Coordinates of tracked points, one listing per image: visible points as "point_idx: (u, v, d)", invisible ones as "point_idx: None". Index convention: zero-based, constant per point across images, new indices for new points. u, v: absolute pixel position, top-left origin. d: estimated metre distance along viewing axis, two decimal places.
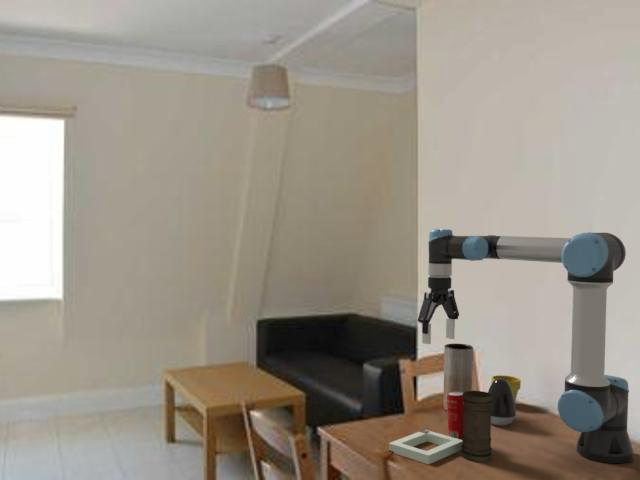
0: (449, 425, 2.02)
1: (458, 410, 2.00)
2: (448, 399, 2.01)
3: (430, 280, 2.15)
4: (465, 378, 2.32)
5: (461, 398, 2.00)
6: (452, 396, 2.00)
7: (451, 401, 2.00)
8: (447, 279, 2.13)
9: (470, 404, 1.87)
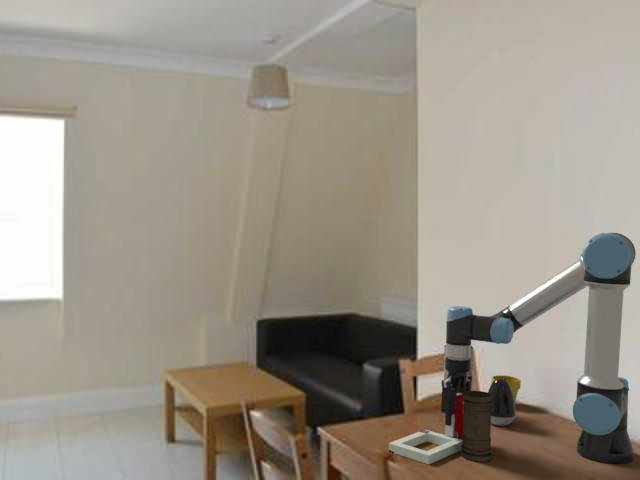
0: None
1: (458, 409, 2.00)
2: None
3: (447, 362, 2.00)
4: None
5: (460, 398, 2.00)
6: None
7: None
8: (466, 362, 1.98)
9: (470, 404, 1.87)
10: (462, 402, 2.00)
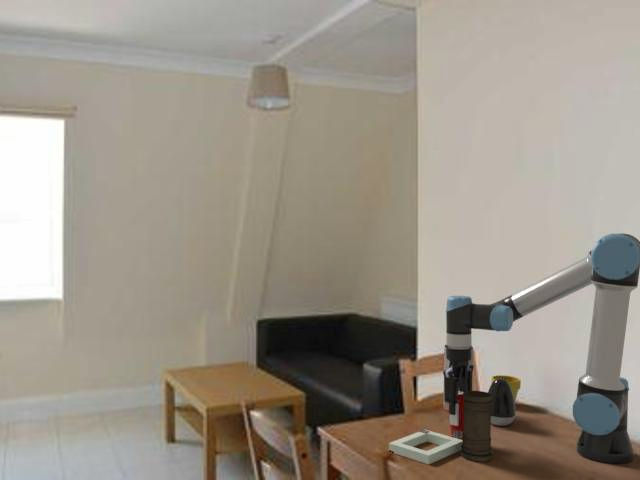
0: None
1: (462, 408, 2.01)
2: None
3: (448, 352, 2.00)
4: None
5: None
6: None
7: None
8: (467, 351, 1.99)
9: (470, 404, 1.87)
10: None
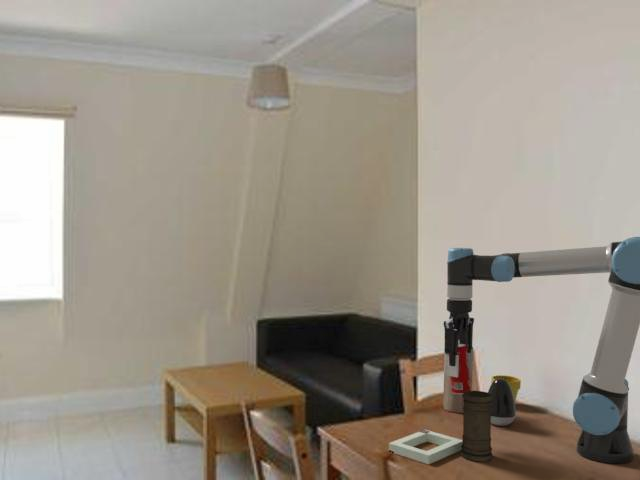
0: (452, 376, 2.02)
1: (462, 360, 2.00)
2: None
3: (449, 303, 2.00)
4: None
5: (463, 349, 2.00)
6: None
7: None
8: (468, 302, 1.98)
9: (470, 404, 1.87)
10: (465, 353, 2.01)
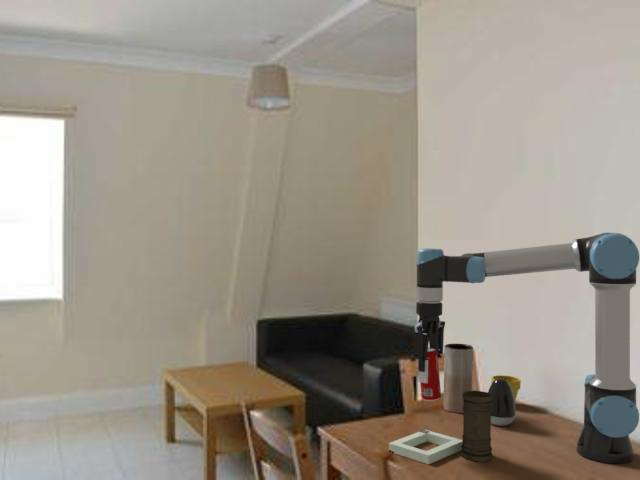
0: None
1: (431, 366, 1.92)
2: None
3: (418, 306, 1.92)
4: (465, 378, 2.32)
5: (433, 354, 1.93)
6: None
7: None
8: (437, 305, 1.90)
9: (470, 404, 1.87)
10: (435, 358, 1.93)
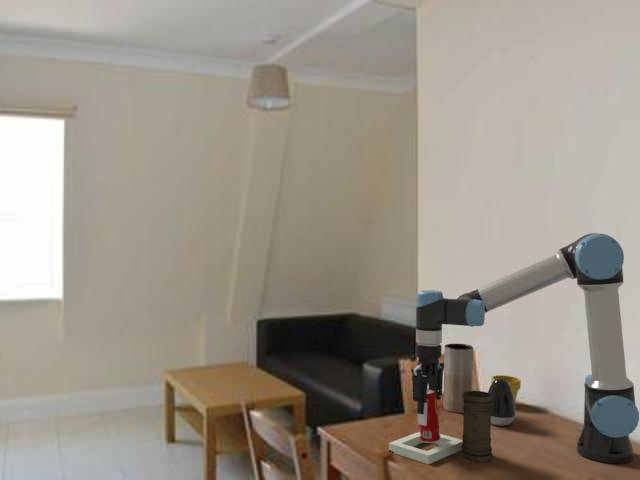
0: None
1: (430, 408, 1.93)
2: None
3: (418, 348, 1.92)
4: (465, 378, 2.32)
5: (432, 396, 1.93)
6: None
7: None
8: (437, 348, 1.91)
9: (470, 404, 1.87)
10: (434, 400, 1.94)
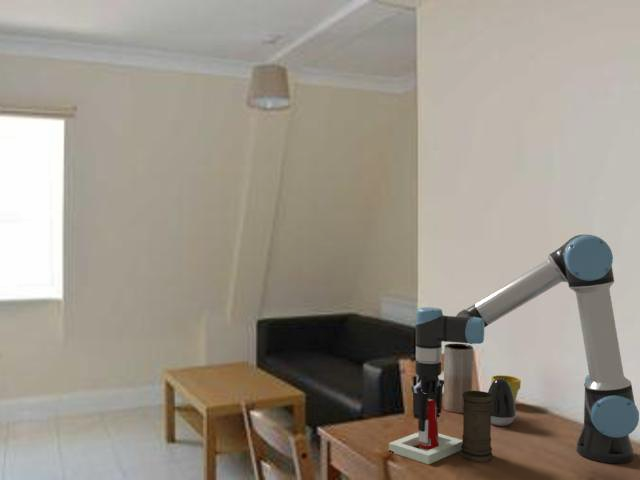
0: None
1: (430, 415, 1.94)
2: None
3: (417, 366, 1.92)
4: (465, 378, 2.32)
5: (432, 403, 1.94)
6: None
7: None
8: (436, 365, 1.91)
9: (470, 404, 1.87)
10: (434, 407, 1.94)
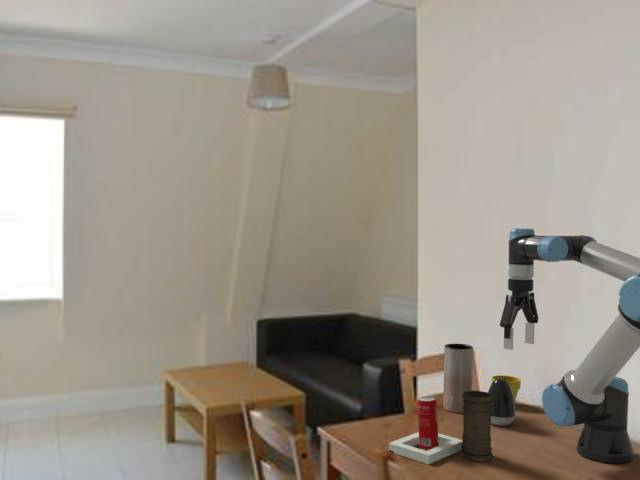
0: (420, 432, 1.95)
1: (431, 415, 1.93)
2: (419, 405, 1.95)
3: (511, 282, 2.04)
4: (465, 378, 2.32)
5: (433, 404, 1.94)
6: (424, 402, 1.94)
7: (422, 407, 1.94)
8: (530, 281, 2.02)
9: (470, 404, 1.87)
10: (435, 408, 1.94)
